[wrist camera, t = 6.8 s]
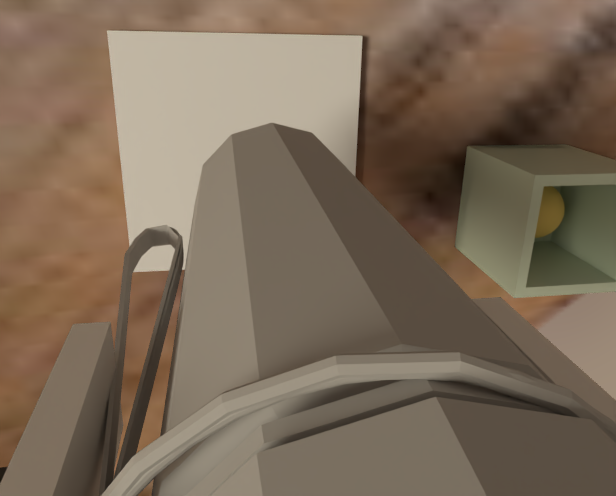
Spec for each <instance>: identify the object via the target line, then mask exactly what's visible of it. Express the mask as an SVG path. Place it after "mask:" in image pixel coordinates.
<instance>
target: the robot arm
mask: <svg viewBox="0 0 616 496" xmlns="http://www.w3.org/2000/svg"><path fill="white" fill-rule="evenodd" d="M471 300H472V301H473V302H474V303H475V304H476V305H477V306H478V307H479V308H480V309H481V310H482V311H483V312H484V313H485V314H486V316H487V317H488V318H489V319H490V320H491V321H492V322H493V323H494V324H495V325H496V326H497V327H498V328H499V329H500V330H501V331H502V332H503V334H504V335H505V336H506V337H507V338H508V339H509V340H510V341H511V342H512V343H513V344H514V345H515V346H516V347H517V348H518V349H519V350H520V351H521V353H522V354H523V355H524V356H525V357H526V358H527V359H528V360H529V361H530V362H531V363H532V364H533V365H534V366H535V367H536V368H537V369H538V371H539V372H540V373H541V374H542V375H543V376H544V377H545V378H546V379H547V380H548V381H549V382H550V383H553V384H556V385H559V386H562V387H565V388H567V389H570V390H571V391H573V392H574V393H575V394H576V395H578V396H579V397H580V398H582V399H583V400H584V401H585V402H587V403H588V404H589V405H590V406H592V407H593V408H595V409H596V410H598V411H599V412H601V413H602V414H604V415H606V416H607V417H609V418H610V419H611V420H613V421H614V422H615V423H616V400H615V399H613V398H612V397H611V396H610V395H609V394H608V393H607V392H606V391H604V390H603V389H602V388H601V387H600V386H599V385H598V384H597V383H596V382H594V381H593V380H592V379H591V378H590V377H589V376H588V375H587V374H586V373H584V372H583V371H582V370H581V369H580V368H579V367H578V366H577V365H576V364H574V363H573V362H572V361H571V360H570V359H569V358H568V357H567V356H565V355H564V354H563V353H562V352H561V351H560V350H559V349H558V348H557V347H555V346H554V345H553V344H552V343H551V342H550V341H549V340H548V339H546V338H545V337H544V336H543V335H542V334H541V333H540V332H539V331H538V330H536V329H535V328H534V327H533V326H532V325H531V324H530V323H529V322H528V321H526V320H525V319H524V318H523V317H522V316H521V315H520V314H519V313H517V312H516V311H515V310H514V309H513V308H512V307H511V306H510V305H509V304H507V303H506V302H505V301H504V300H503V299H502V298H501V297H496V298H480V299H471ZM115 369H116V363H115V355H114V347H113V339H112V331H111V323H110V322H99V323H83V324H73V325H72V328H71V330H70V332H69V334H68V336H67V339H66V341H65V343H64V345H63V347H62V349H61V352H60V354H59V356H58V358H57V360H56V363H55V365H54V367H53V369H52V371H51V374H50V376H49V378H48V380H47V382H46V384H45V387H44V389H43V391H42V393H41V395H40V398H39V400H38V402H37V404H36V406H35V409H34V411H33V413H32V415H31V417H30V419H29V422H28V424H27V426H26V428H25V430H24V433H23V435H22V437H21V439H20V441H19V444H18V446H17V448H16V450H15V452H14V454H13V457H12V459H11V461H10V463H9V465H8V467H2V468H0V496H99V489H100V480H101V470H102V461H103V452H104V443H105V433H106V424H107V415H108V405H109V396H110V388H111V384H112V380H113V376H114V373H115ZM122 429H123V420H122V412H121V404H120V411H119V422H118V433H117V444H116V455H115V462H116V458H117V453H118V448H119V443H120V439H121V434H122ZM114 467H115V466H114Z"/></svg>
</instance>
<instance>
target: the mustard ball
mask: <svg viewBox="0 0 616 496" xmlns="http://www.w3.org/2000/svg"><path fill="white" fill-rule="evenodd" d="M564 212H565V205H564V201H563V198H562V196H561V194H560V193H559V192H558V191H557V189H555V188H554V187H553V186H544V188H543V194H542V200H541V205H540V211H539V216H538V222H537V227H536V233H535V238H539V237H543V236H546V235H548V234H550V233H552V232H553V231H554V230H555V229H556V228H557V227H558V226H559V225H560V223H561V222H562V220H563V217H564Z"/></svg>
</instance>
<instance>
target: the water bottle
mask: <svg viewBox="0 0 616 496" xmlns="http://www.w3.org/2000/svg"><path fill="white" fill-rule="evenodd" d="M163 245H171V246H172V247H173V248H174V249H175V252H174V255H173V259H172V263H171V267H170V270H169V274H168V278H167V281H166V285H165V289H164V293H163V296H162V300H161V304H160V307H159V311H158V315H157V319H156V322H155V326H154V330H153V334H152V337H151V341H150V345H149V348H148V352H147V356H146V360H145V363H144V367H143V371H142V375H141V378H140V382H139V386H138V389H137V393H136V397H135V401H134V404H133V408H132V412H131V415H130V419H129V423H128V427H127V430H126V434H125V438H124V442H123V445H122V449H121V453H120V456H119V460H118V464H117V468H116V471H115V475H114V466H115V455H116V444H117V433H118V422H119V411H120V400H121V389H122V378H123V367H124V356H125V345H126V334H127V323H128V312H129V301H130V290H131V279H132V273H133V271H134V269H135V267H136V266H137V264H138V262H139V260H140V258H141V257H142V256H143V255H144V254H145V253H146V252H147V251H148V250H149V249H150V248H151V247H155V246H163ZM183 261H184V250H183V239H182V236H181V235H180V234H179V233H178V231H177V230H176V229H174V228H172V227H169V226H168V225H162V226H156V227H151V228H146V229H145V230H144V231H143V232H142V233H140V234H139V235H138V236H137V237H136V238H135V239H134V241H133V242H132V244H131V245H130V247H129V249H128V250H127V252H126V253H125V257H124V266H123V275H122V285H121V294H120V303H119V313H118V322H117V331H116V340H115V350H114V355H115V363H116V369H115V373H114V376H113V380H112V384H111V388H110V396H109V405H108V415H107V424H106V433H105V443H104V452H103V461H102V470H101V480H100V489H99V496H137V495H138V494H139V493H140V492H141V491H142V490H143V489H144V488H145V487H146V486H147V485H148V484H149V483H150V482H151V481H152V480H153V479H154V483H153V489H152V496H616V423H615V422H614V421H613V420H611V419H610V418H609V417H607V416H606V415H604V414H602V413H601V412H599V411H598V410H596V409H595V408H593V407H592V406H590V405H589V404H588V403H587V402H585V401H584V400H583V399H582V398H580V397H579V396H578V395H576V394H575V393H574V392H573V391H571V390H570V389H567V388H565V387H562V386H559V385H556V384H553V383H550V382H549V381H548V380H547V379H546V378H545V377H544V376H543V375H542V374H541V373H540V372H539V371H538V369H537V368H536V367H535V366H534V365H533V364H532V363H531V362H530V361H529V360H528V359H527V358H526V357H525V356H524V355H523V354H522V353H521V351H520V350H519V349H518V348H517V347H516V346H515V345H514V344H513V343H512V342H511V341H510V340H509V339H508V338H507V337H506V336H505V335H504V334H503V332H502V331H501V330H500V329H499V328H498V327H497V326H496V325H495V324H494V323H493V322H492V321H491V320H490V319H489V318H488V317H487V316H486V314H485V313H484V312H483V311H482V310H481V309H480V308H479V307H478V306H477V305H476V304H475V303H474V302H473V301H472V300H471V299H470V298H469V297H468V295H467V294H466V293H465V292H464V291H463V290H462V289H461V288H460V287H459V286H458V285H457V284H456V283H455V282H454V281H453V280H452V279H451V277H450V276H449V275H448V274H447V273H446V272H445V271H444V270H443V269H442V268H441V267H440V266H439V265H438V264H437V263H436V262H435V261H434V260H433V258H432V257H431V256H430V255H429V254H428V253H427V252H426V251H425V250H424V249H423V248H422V247H421V246H420V245H419V244H418V243H417V242H416V240H415V239H414V238H413V237H412V236H411V235H410V234H409V233H408V232H407V231H406V230H405V229H404V228H403V227H402V226H401V225H400V224H399V223H398V221H397V220H396V219H395V218H394V217H393V216H392V215H391V214H390V213H389V212H388V211H387V210H386V209H385V208H384V207H383V206H382V205H381V203H380V202H379V201H378V200H377V199H376V198H375V197H374V196H373V195H372V194H371V193H370V192H369V191H368V190H367V189H366V188H365V187H364V186H363V184H362V183H361V182H360V181H359V180H358V179H357V178H356V177H355V176H354V175H353V174H352V173H351V172H350V171H349V170H348V169H347V168H346V166H345V165H344V164H343V163H342V162H341V161H340V160H339V159H338V158H337V157H336V156H335V155H334V154H333V153H332V152H331V151H330V150H329V149H328V148H327V147H326V146H325V145H324V144H323V143H322V142H321V141H320V140H319V139H318V138H317V137H316V136H315V135H314V134H313V133H312V132H308V131H304V130H300V129H296V128H292V127H288V126H284V125H280V124H276V123H268V124H265V125H262V126H258V127H255V128H251V129H248V130H244V131H241V132H238V133H234V134H231V135H230V136H229V137H228V138H227V139H226V141H225V142H224V143H223V144H222V145H221V146H220V147H219V148H218V149H217V150H216V151H215V152H214V153H213V154H212V155H211V157H210V158H209V159H208V160H207V161H206V162H205V163H204V164H203V166H202V171H201V176H200V181H199V185H198V190H197V195H196V200H195V205H194V212H193V218H192V225H191V232H190V239H189V246H188V252H187V259H186V266H185V273H184V279H183V286H182V293H181V300H180V307H179V313H178V320H177V327H176V334H175V340H174V347H173V354H172V361H171V367H170V374H169V381H168V388H167V395H166V401H165V408H164V415H163V422H162V428H161V435H160V437H159V438H158V439H156V440H155V441H153V442H152V443H150V444H149V445H148V446H146V447H145V448H143V449H142V450H141V451H139V452H138V453H137V454H136V451H137V447H138V443H139V439H140V435H141V431H142V427H143V423H144V420H145V416H146V412H147V408H148V404H149V400H150V396H151V392H152V388H153V384H154V380H155V376H156V372H157V368H158V364H159V360H160V356H161V352H162V348H163V344H164V340H165V336H166V332H167V328H168V324H169V320H170V316H171V312H172V308H173V304H174V300H175V296H176V292H177V288H178V284H179V280H180V276H181V272H182V267H183ZM113 477H114V479H113Z"/></svg>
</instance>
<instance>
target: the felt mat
mask: <svg viewBox="0 0 616 496" xmlns="http://www.w3.org/2000/svg"><path fill="white" fill-rule="evenodd" d="M107 34H108V44H109V53H110V63H111V72H112V82H113V92H114V101H115V111H116V120H117V130H118V139H119V149H120V159H121V168H122V178H123V187H124V197H125V206H126V216H127V225H128V235H129V245H131V244H132V242H133V241H134V239H135V238H136V237H137V236H138V235H139V234H140V233H142V232H143V231H144V230H145V229H146V228H151V227H156V226H162V225H168V226H169V227H172V228H174V229H176V230H177V231H178V233H179V234H180V235H181V236H182V239H183V250H184V261H183V267H182V270H185V266H186V259H187V252H188V246H189V239H190V232H191V225H192V218H193V212H194V205H195V200H196V195H197V190H198V185H199V181H200V176H201V171H202V166H203V164H204V163H205V162H206V161H207V160H208V159H209V158H210V157H211V155H212V154H213V153H214V152H215V151H216V150H217V149H218V148H219V147H220V146H221V145H222V144H223V143H224V142H225V141H226V139H227V138H228V137H229V136H230V135H231V134H234V133H238V132H241V131H244V130H248V129H251V128H255V127H258V126H262V125H265V124H268V123H276V124H280V125H284V126H288V127H292V128H296V129H300V130H304V131H308V132H312V133H313V134H314V135H315V136H316V137H317V138H318V139H319V140H320V141H321V142H322V143H323V144H324V145H325V146H326V147H327V148H328V149H329V150H330V151H331V152H332V153H333V154H334V155H335V156H336V157H337V158H338V159H339V160H340V161H341V162H342V163H343V164H344V165H345V166H346V168H347V169H348V170H349V171H350V172H351V173H352V174H353V175H354V176H355V173H356V153H357V134H358V114H359V95H360V75H361V56H362V37H363V36H347V35H299V34H250V33H202V32H153V31H107ZM174 252H175V249H174V248H173V247H172V246H171V245H163V246H155V247H151V248H150V249H149V250H148V251H147V252H146V253H145V254H144V255H143V256H142V257H141V258H140V260H139V262H138V264H137V266H136V267H135V269H134V271H133V272H145V271H165V270H170V267H171V263H172V259H173V255H174Z"/></svg>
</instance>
